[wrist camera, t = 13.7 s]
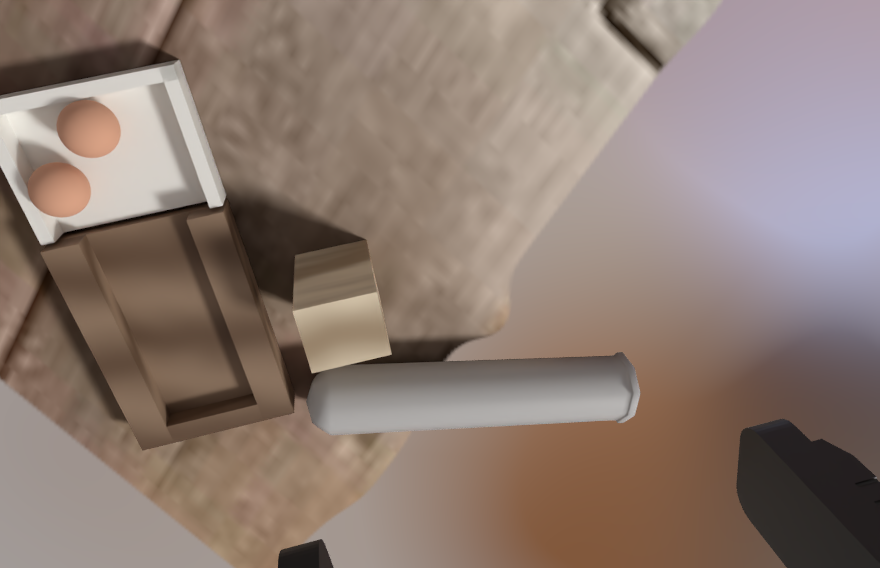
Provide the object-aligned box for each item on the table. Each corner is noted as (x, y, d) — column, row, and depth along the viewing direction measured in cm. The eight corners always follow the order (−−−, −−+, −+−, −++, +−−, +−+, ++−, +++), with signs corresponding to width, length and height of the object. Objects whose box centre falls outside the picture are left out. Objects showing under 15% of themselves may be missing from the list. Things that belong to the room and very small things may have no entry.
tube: (306, 453, 47) (623, 434, 52) (305, 411, 43) (647, 395, 48) (307, 392, 51) (603, 380, 55) (305, 349, 47) (623, 340, 52)
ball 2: (67, 146, 38) (46, 184, 39) (27, 156, 35) (5, 198, 36) (111, 182, 39) (89, 219, 40) (74, 196, 36) (51, 235, 37)
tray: (-15, 98, 36) (-31, 105, 35) (179, 59, 37) (172, 64, 36) (52, 233, 40) (41, 245, 39) (226, 195, 41) (222, 205, 40)
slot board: (54, 236, 41) (39, 252, 38) (227, 198, 42) (223, 212, 39) (150, 428, 48) (142, 450, 46) (294, 392, 49) (294, 412, 47)
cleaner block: (295, 255, 44) (292, 311, 37) (366, 239, 45) (377, 291, 38) (311, 310, 46) (312, 373, 39) (379, 295, 47) (391, 354, 40)
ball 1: (48, 94, 36) (38, 136, 34) (102, 82, 36) (94, 125, 34) (84, 132, 39) (76, 174, 37) (135, 122, 38) (129, 163, 37)
